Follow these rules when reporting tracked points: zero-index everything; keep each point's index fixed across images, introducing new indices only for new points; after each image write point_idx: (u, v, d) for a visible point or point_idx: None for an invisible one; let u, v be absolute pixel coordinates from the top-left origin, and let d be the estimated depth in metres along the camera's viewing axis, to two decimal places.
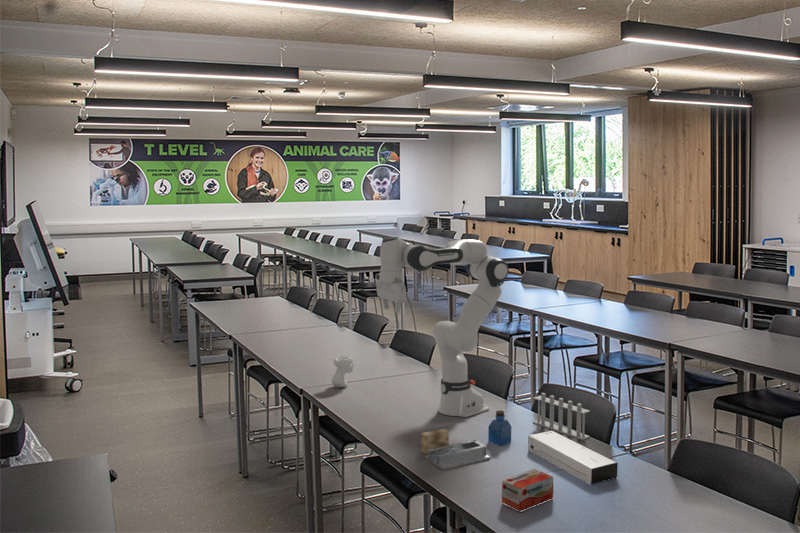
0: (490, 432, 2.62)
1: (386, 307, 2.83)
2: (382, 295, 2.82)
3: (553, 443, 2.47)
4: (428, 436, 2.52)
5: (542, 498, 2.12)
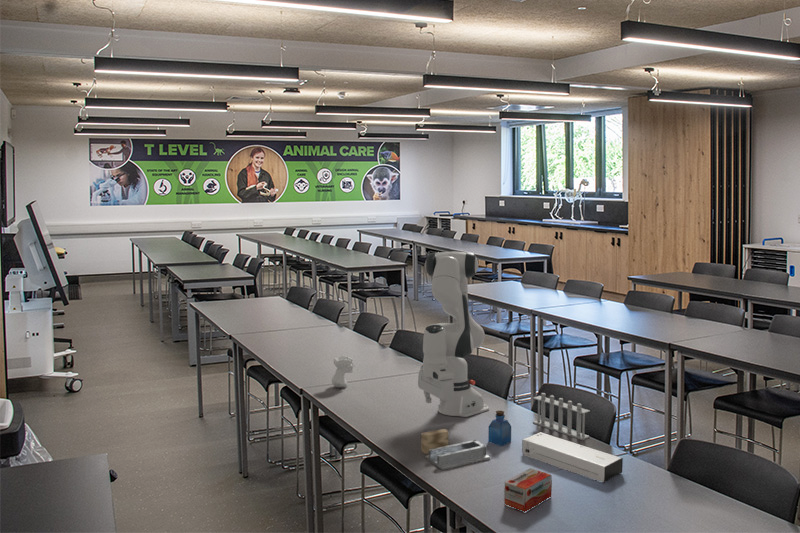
0: (490, 432, 2.62)
1: None
2: None
3: (551, 444, 2.45)
4: (428, 436, 2.52)
5: (543, 497, 2.13)
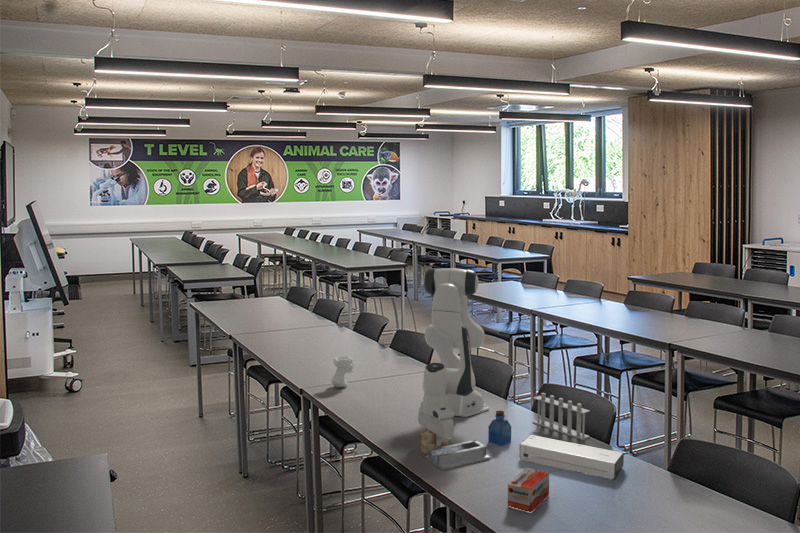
0: (490, 432, 2.62)
1: None
2: None
3: (550, 446, 2.43)
4: (428, 436, 2.52)
5: (543, 496, 2.14)
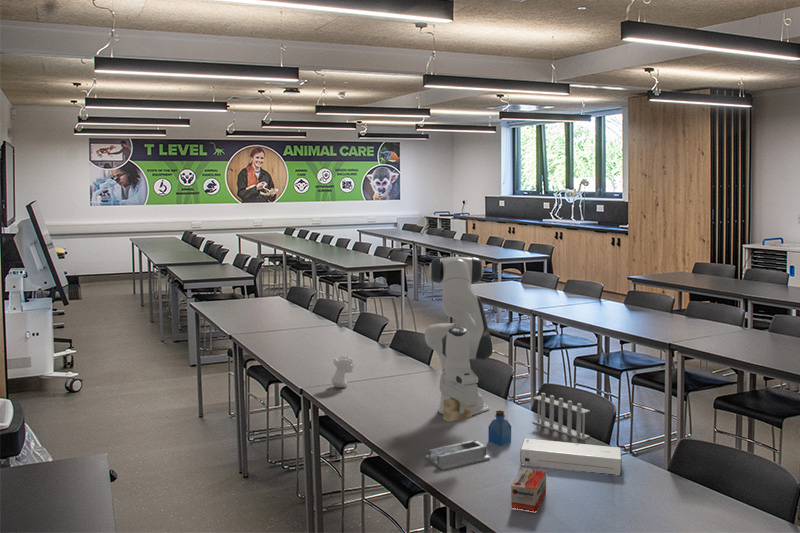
0: (490, 432, 2.62)
1: None
2: None
3: (551, 448, 2.42)
4: (451, 403, 2.42)
5: (543, 494, 2.15)
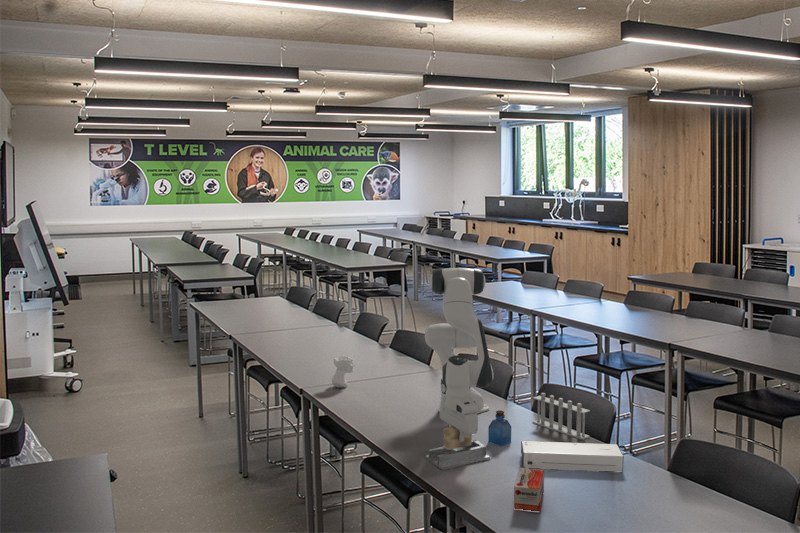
0: (490, 432, 2.62)
1: None
2: None
3: (552, 449, 2.40)
4: (451, 432, 2.43)
5: None
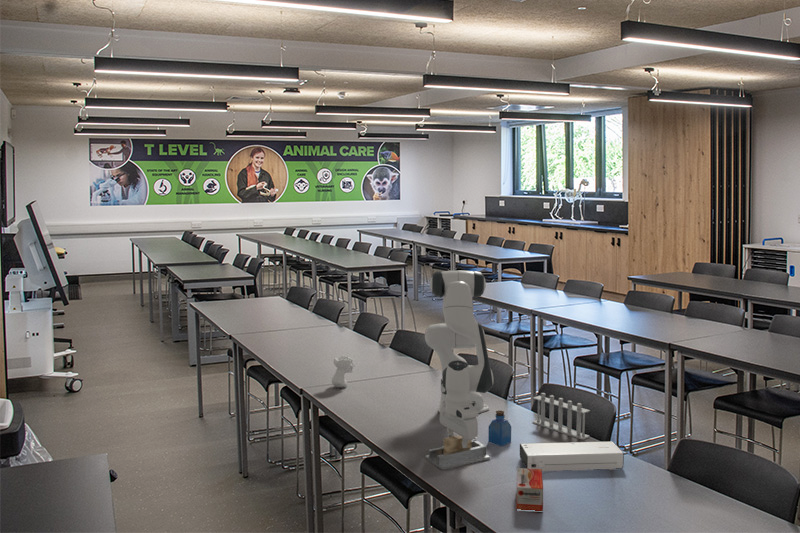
0: (490, 432, 2.62)
1: None
2: None
3: (554, 451, 2.39)
4: (451, 442, 2.44)
5: None
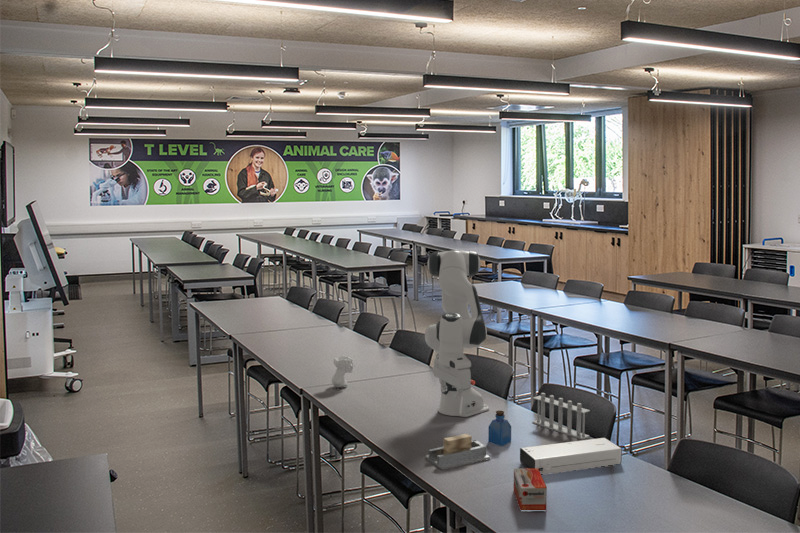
0: (490, 432, 2.62)
1: None
2: None
3: (557, 452, 2.38)
4: (451, 442, 2.44)
5: None
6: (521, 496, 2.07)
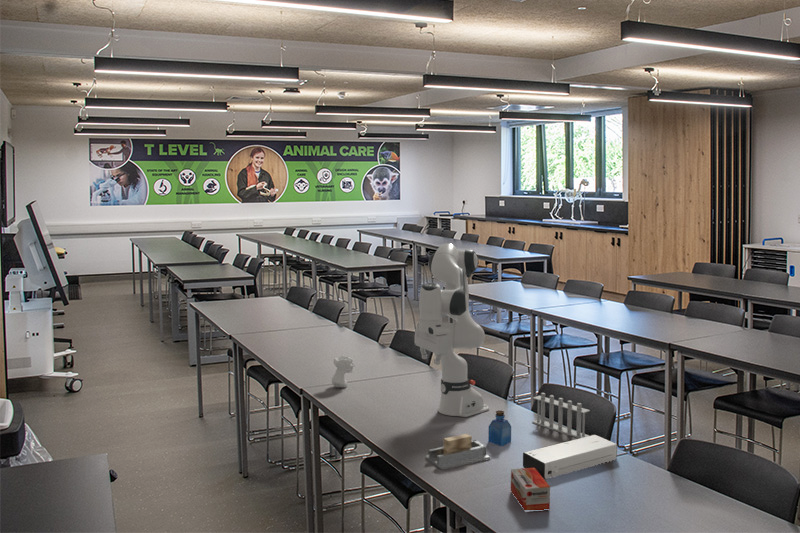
0: (490, 432, 2.62)
1: None
2: None
3: (561, 453, 2.37)
4: (451, 442, 2.44)
5: None
6: (525, 497, 2.06)
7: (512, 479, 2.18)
